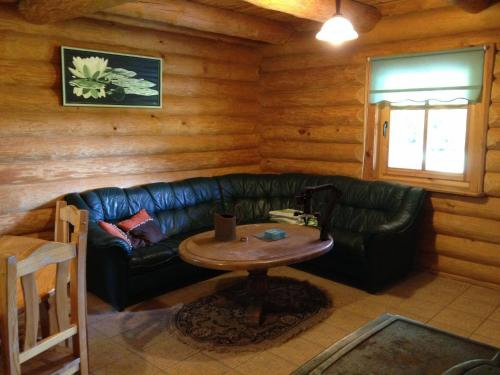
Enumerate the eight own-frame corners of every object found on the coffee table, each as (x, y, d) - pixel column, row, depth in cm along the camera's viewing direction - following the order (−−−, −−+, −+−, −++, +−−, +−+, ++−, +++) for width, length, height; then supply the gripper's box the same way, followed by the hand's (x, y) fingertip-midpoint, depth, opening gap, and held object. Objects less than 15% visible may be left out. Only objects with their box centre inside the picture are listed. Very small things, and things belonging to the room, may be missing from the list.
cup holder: (209, 237, 331) (208, 204, 327) (237, 232, 342) (237, 201, 338) (219, 243, 315) (218, 209, 311) (248, 238, 326) (248, 206, 322)
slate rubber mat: (274, 230, 348) (274, 230, 347) (290, 236, 331) (290, 235, 331) (251, 235, 335) (251, 234, 335) (267, 241, 319) (267, 241, 319)
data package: (274, 234, 319) (263, 231, 328) (274, 240, 320) (263, 236, 329) (286, 231, 327) (275, 228, 336) (286, 237, 328) (275, 234, 337)
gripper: (321, 203, 317) (321, 224, 320) (296, 201, 323) (296, 222, 325) (319, 206, 307) (319, 228, 310) (293, 204, 312) (293, 226, 315)
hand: (306, 226), depth 315 cm, fingers closed
